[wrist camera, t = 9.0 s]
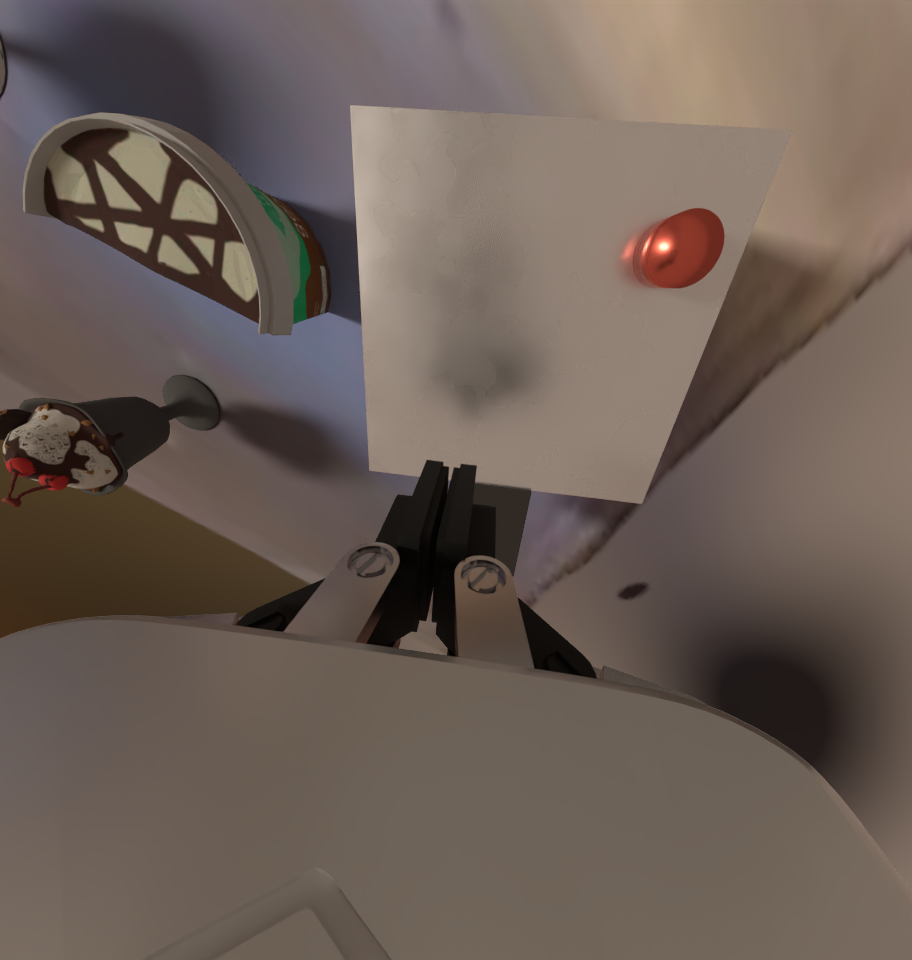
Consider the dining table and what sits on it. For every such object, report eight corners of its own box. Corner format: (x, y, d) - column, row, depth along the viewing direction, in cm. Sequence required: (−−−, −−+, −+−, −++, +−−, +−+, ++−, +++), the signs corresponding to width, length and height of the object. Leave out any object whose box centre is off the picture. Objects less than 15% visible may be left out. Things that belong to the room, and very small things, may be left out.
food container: (374, 232, 23) (298, 199, 15) (346, 322, 26) (269, 339, 18) (192, 126, 22) (-14, 18, 13) (184, 234, 25) (11, 205, 16)
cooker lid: (362, 119, 13) (327, 78, 10) (767, 143, 12) (839, 105, 10) (379, 542, 23) (364, 575, 20) (603, 573, 22) (617, 611, 20)
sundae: (242, 434, 32) (62, 537, 19) (179, 441, 33) (-32, 542, 20) (208, 359, 29) (-34, 419, 16) (140, 369, 30) (-138, 433, 17)
